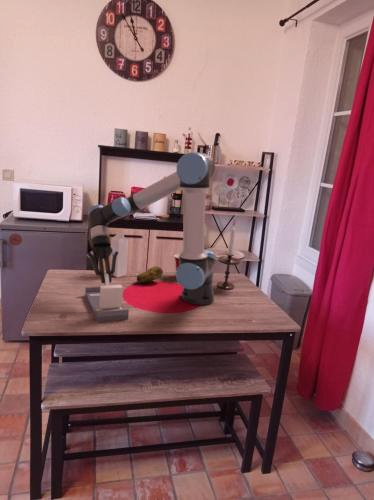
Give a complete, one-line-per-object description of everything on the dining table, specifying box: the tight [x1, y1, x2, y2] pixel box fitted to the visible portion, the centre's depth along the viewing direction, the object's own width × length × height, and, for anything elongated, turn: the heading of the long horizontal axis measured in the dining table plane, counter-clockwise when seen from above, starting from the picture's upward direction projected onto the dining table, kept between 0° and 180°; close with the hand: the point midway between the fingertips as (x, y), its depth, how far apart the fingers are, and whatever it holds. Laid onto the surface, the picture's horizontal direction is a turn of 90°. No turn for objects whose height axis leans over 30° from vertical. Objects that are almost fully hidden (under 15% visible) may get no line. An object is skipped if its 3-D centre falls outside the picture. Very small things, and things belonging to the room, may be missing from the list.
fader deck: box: [84, 285, 130, 323], centre depth 151 cm, size 26×12×4 cm, turn 24°
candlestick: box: [216, 219, 241, 291], centre depth 185 cm, size 11×11×35 cm
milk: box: [109, 231, 129, 278], centre depth 187 cm, size 6×6×22 cm
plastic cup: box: [173, 253, 180, 272], centre depth 195 cm, size 11×11×12 cm
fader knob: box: [99, 284, 124, 310], centre depth 142 cm, size 5×8×10 cm, turn 114°
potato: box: [136, 265, 164, 284], centre depth 183 cm, size 8×13×8 cm, turn 99°
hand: (107, 290), depth 146 cm, fingers closed
